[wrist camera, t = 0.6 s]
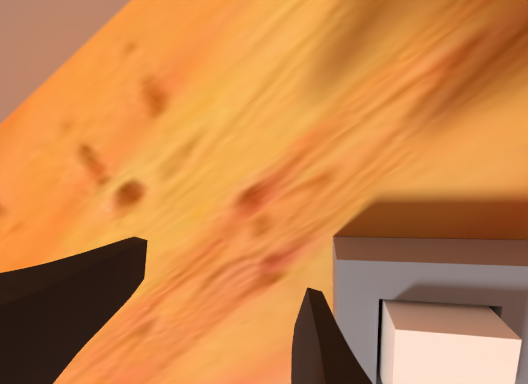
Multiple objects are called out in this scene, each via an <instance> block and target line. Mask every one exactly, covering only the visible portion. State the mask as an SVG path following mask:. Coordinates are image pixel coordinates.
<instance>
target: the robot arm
mask: <svg viewBox="0 0 528 384" xmlns="http://www.w3.org/2000/svg"><path fill="white" fill-rule="evenodd" d="M146 251H147V240H144V239H141V238H138V237H132V238H128V239H124V240H121V241H118V242H115V243H112V244H109V245H106V246H103V247H100V248H96V249H93V250H90V251H87V252H84V253H81V254H77V255H74V256H70V257H67V258H63V259H60V260H56V261H53V262H49V263H45V264H41V265H37V266H33V267H28V268H24V269H19V270H14V271H9V272H3V273H0V384H53V383H54V382H55V380H56V379H57V378H58V377H59V375H60V374H61V373H62V372H63V370H64V369H65V368H66V367H67V365H68V364H69V363H70V362H71V361H72V359H73V358H74V357H75V356H76V354H77V353H78V352H79V351H80V350H81V349H82V348H83V347H84V345H85V344H86V343H87V342H88V341H89V340H90V339H91V338H92V337H93V336H94V335H95V334H96V333H97V332H98V331H99V330H100V329H101V328H102V327H103V326H104V325H105V324H106V323H107V321H108V320H109V319H110V318H111V317H112V316H113V315H114V314H115V313H116V312H117V311H118V310H119V309H120V308H121V307H122V306H123V305H124V304H125V303H126V302H127V300H128V299H129V298H130V297H131V296H132V294H133V293H134V292H135V291H136V289H137V288H138V286H139V285H140V284H141V282H142V281H143V280H144V275H145V263H146ZM291 384H373V383H372V382H371V380H370V379H369V377H368V376H367V374H366V373H365V371H364V370H363V368H362V367H361V365H360V364H359V362H358V361H357V359H356V357H355V356H354V354H353V352H352V350H351V349H350V347H349V345H348V343H347V342H346V340H345V338H344V336H343V334H342V332H341V330H340V328H339V327H338V325H337V323H336V321H335V319H334V316H333V314H332V312H331V310H330V308H329V306H328V304H327V301H326V299H325V297H324V295H323V293H322V292H321V291H318V290H314V289H311V288H308V287H307V290H306V293H305V296H304V299H303V302H302V305H301V308H300V311H299V314H298V317H297V320H296V323H295V328H294V336H293V344H292V372H291Z"/></svg>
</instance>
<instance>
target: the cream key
mask: <svg viewBox="0 0 528 384" xmlns="http://www.w3.org/2000/svg"><path fill="white" fill-rule="evenodd" d="M521 342H522V339H520V338H519V337H518V336H517V335H516V334H515V333H514V332H513V331H512V330H511V329H510V328H509V327H508V326H507V325H506V324H505V323H504V322H503V321H502V320H501V319H500V318H499V317H498V316H497V315H496V314H495V313H494V312H493V311H492V310H491V309H490V308H489V307H488V306H486V305H470V304H454V303H438V302H422V301H405V300H389V299H382V320H381V346H380V372H379V373H380V377H381V380H382V384H515V379H516V373H517V367H518V361H519V355H520V348H521Z"/></svg>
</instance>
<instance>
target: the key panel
mask: <svg viewBox="0 0 528 384" xmlns="http://www.w3.org/2000/svg"><path fill="white" fill-rule="evenodd" d="M379 299H389V300H405V301H422V302H438V303H454V304H470V305H486V306H488V307H489V308H490V309H491V310H492V311H493V312H494V313H495V314H496V315H497V316H498V317H499V318H500V319H501V320H502V321H503V322H504V323H505V324H506V325H507V326H508V327H509V328H510V329H511V330H512V331H513V332H514V333H515V334H516V335H517V336H518V337H519V338H520V339H522V342H521V348H520V355H519V361H518V367H517V373H516V379H515V384H528V240H500V239H444V238H389V237H333V316H334V319H335V321H336V323H337V325H338V327H339V328H340V330H341V332H342V334H343V336H344V338H345V340H346V342H347V343H348V345H349V347H350V349H351V350H352V352H353V354H354V356H355V357H356V359H357V361H358V362H359V364H360V365H361V367H362V368H363V370H364V371H365V373H366V374H367V376H368V377H369V379H370V380H371V382H372V383H373V384H382V380H381V377H380V373H379V372H380V346H381V344H377V340H378V312H379Z"/></svg>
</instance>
